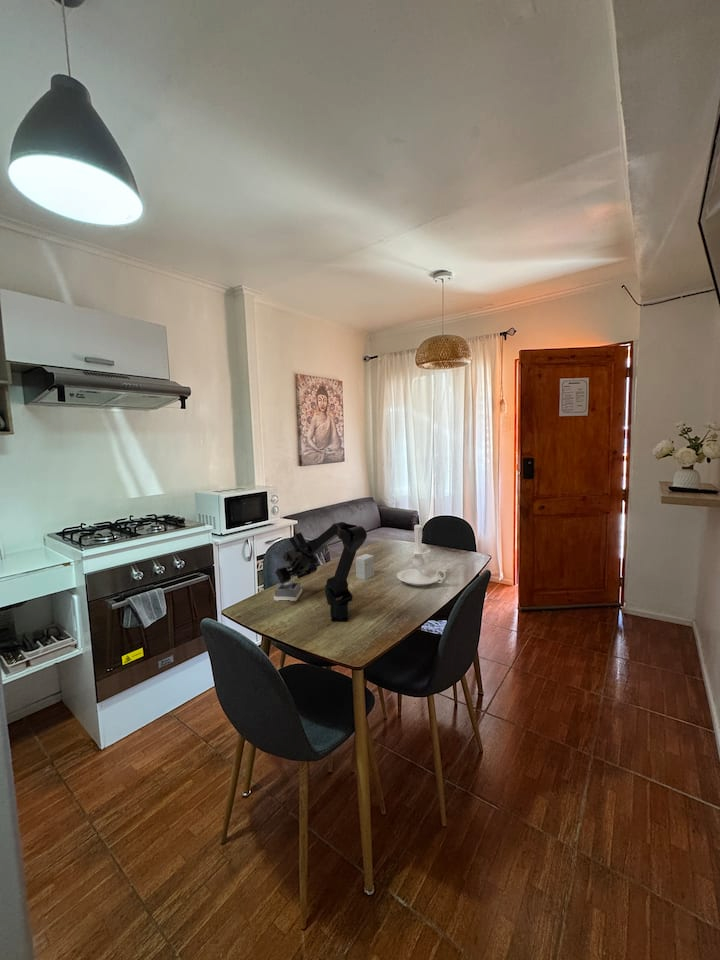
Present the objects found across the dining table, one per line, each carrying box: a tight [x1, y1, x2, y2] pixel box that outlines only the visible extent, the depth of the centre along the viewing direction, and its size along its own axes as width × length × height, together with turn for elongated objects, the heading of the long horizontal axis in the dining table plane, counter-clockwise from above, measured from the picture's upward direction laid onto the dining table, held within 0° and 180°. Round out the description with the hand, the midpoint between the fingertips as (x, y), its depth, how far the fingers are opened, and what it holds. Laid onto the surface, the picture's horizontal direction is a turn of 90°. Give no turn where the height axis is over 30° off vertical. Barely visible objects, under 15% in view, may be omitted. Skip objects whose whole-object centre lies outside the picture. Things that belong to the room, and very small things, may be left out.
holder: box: [273, 582, 303, 602], centre depth 179 cm, size 10×10×4 cm
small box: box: [355, 553, 375, 581], centre depth 199 cm, size 8×6×10 cm
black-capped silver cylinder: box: [280, 563, 294, 589], centre depth 178 cm, size 5×5×12 cm
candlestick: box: [396, 524, 448, 587], centre depth 188 cm, size 21×25×28 cm
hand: (289, 580), depth 177 cm, fingers open, 9 cm apart
